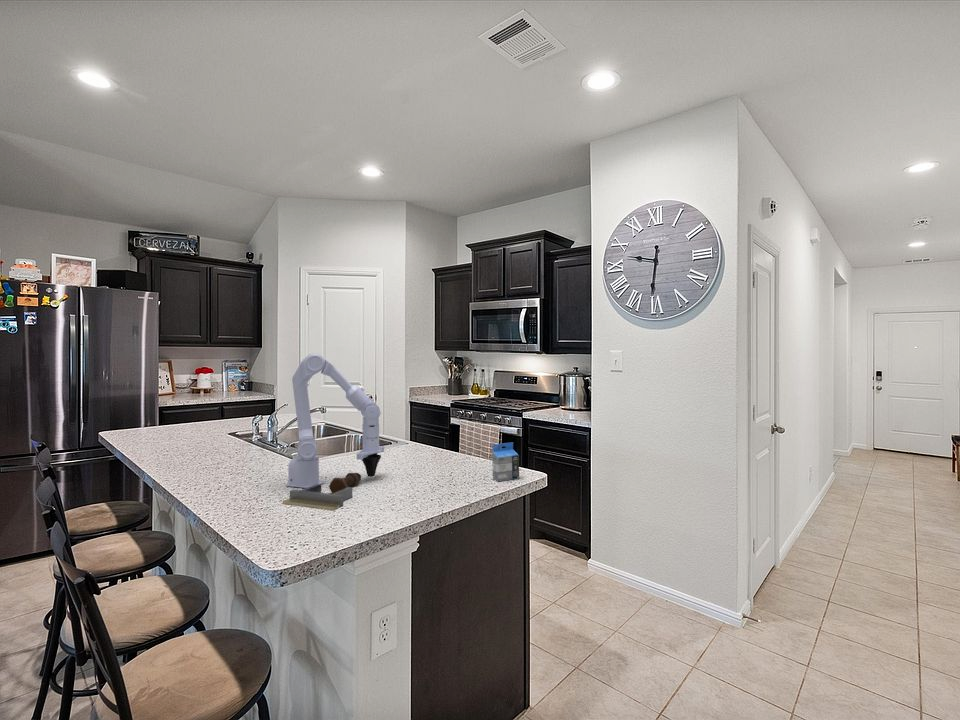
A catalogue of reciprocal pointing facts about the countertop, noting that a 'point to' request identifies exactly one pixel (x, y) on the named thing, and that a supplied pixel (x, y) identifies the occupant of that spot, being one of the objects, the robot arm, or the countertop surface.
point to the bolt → (344, 482)
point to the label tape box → (505, 462)
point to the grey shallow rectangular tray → (318, 498)
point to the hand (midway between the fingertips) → (371, 476)
